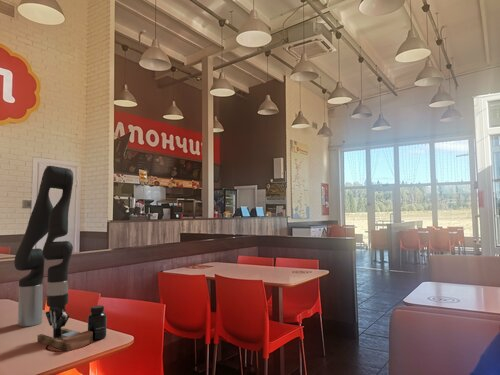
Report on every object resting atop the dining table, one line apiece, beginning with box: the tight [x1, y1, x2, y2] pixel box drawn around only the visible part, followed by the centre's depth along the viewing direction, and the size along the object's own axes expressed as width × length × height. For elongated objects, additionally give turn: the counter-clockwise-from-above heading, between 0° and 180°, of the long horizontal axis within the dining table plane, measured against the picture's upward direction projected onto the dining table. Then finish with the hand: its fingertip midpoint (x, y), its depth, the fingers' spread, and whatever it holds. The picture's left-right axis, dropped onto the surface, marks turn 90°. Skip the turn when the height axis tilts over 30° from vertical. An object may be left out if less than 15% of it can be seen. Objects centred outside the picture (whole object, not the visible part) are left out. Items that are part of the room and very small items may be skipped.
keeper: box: [61, 330, 80, 340], centre depth 137 cm, size 5×5×4 cm
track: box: [37, 327, 94, 352], centre depth 140 cm, size 20×10×4 cm, turn 58°
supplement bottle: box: [87, 304, 108, 342], centre depth 144 cm, size 7×7×12 cm
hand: (57, 337), depth 143 cm, fingers closed
